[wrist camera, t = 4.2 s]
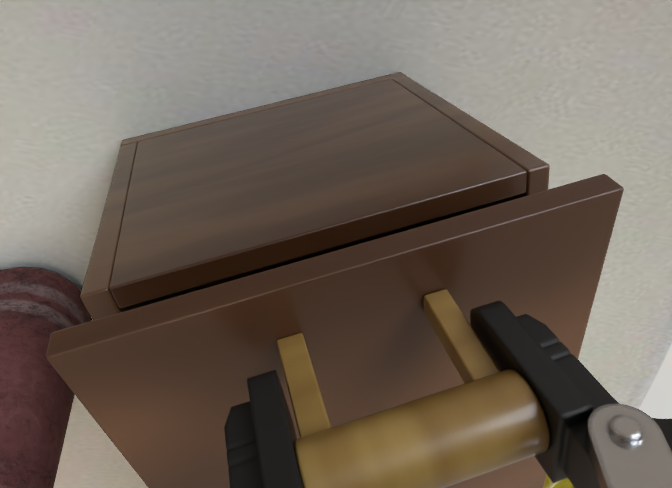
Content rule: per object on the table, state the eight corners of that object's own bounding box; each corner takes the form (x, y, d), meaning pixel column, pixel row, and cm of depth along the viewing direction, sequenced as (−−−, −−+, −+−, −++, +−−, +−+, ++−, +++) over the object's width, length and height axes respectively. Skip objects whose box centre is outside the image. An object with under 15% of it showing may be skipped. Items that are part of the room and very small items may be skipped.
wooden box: (121, 140, 26) (78, 296, 14) (400, 71, 27) (551, 164, 16) (222, 383, 35) (243, 590, 24) (424, 320, 37) (529, 485, 26)
